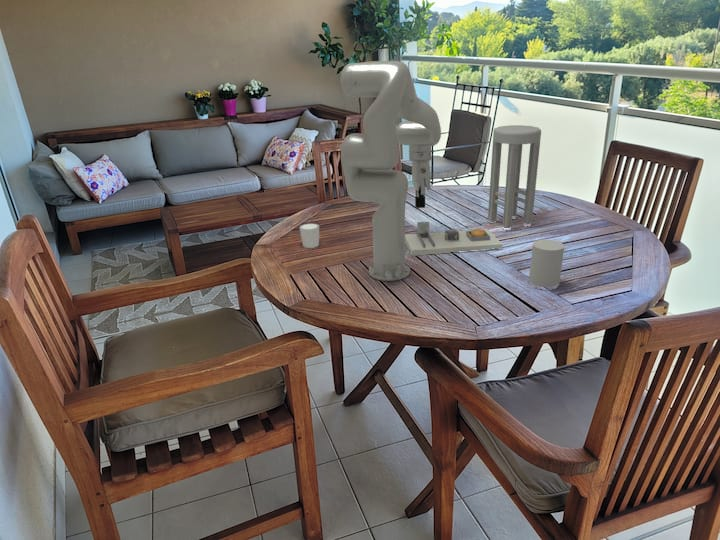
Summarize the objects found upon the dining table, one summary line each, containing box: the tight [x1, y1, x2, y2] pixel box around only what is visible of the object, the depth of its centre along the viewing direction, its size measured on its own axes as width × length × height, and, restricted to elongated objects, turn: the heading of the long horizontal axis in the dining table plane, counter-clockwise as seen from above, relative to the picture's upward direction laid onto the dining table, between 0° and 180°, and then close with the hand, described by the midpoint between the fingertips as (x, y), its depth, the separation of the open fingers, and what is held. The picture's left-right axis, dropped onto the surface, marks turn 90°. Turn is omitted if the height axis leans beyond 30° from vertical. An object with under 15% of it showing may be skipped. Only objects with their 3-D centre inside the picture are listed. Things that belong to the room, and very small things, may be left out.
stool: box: [487, 124, 542, 228], centre depth 186 cm, size 16×16×35 cm
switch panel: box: [405, 228, 503, 257], centre depth 176 cm, size 15×30×4 cm, turn 95°
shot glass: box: [299, 223, 320, 249], centre depth 180 cm, size 7×7×7 cm
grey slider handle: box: [416, 221, 430, 238], centre depth 179 cm, size 3×4×5 cm
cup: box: [528, 239, 565, 287], centre depth 144 cm, size 8×8×12 cm
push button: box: [471, 229, 485, 237], centre depth 176 cm, size 4×4×2 cm
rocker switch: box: [444, 229, 459, 237], centre depth 175 cm, size 6×3×2 cm, turn 5°
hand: (420, 206), depth 183 cm, fingers closed
